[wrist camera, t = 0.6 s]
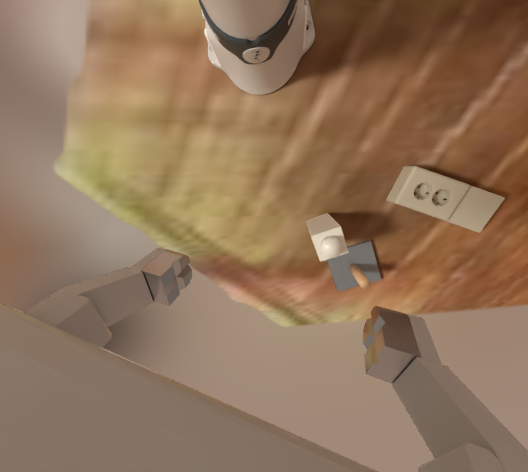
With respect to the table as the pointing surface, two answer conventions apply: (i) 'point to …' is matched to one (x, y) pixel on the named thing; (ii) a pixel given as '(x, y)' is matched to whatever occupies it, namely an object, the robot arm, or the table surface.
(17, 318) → the robot arm
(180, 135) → the table surface
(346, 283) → the peg stand
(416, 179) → the electrical outlet
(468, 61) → the table surface
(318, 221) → the tapered lotion bottle
